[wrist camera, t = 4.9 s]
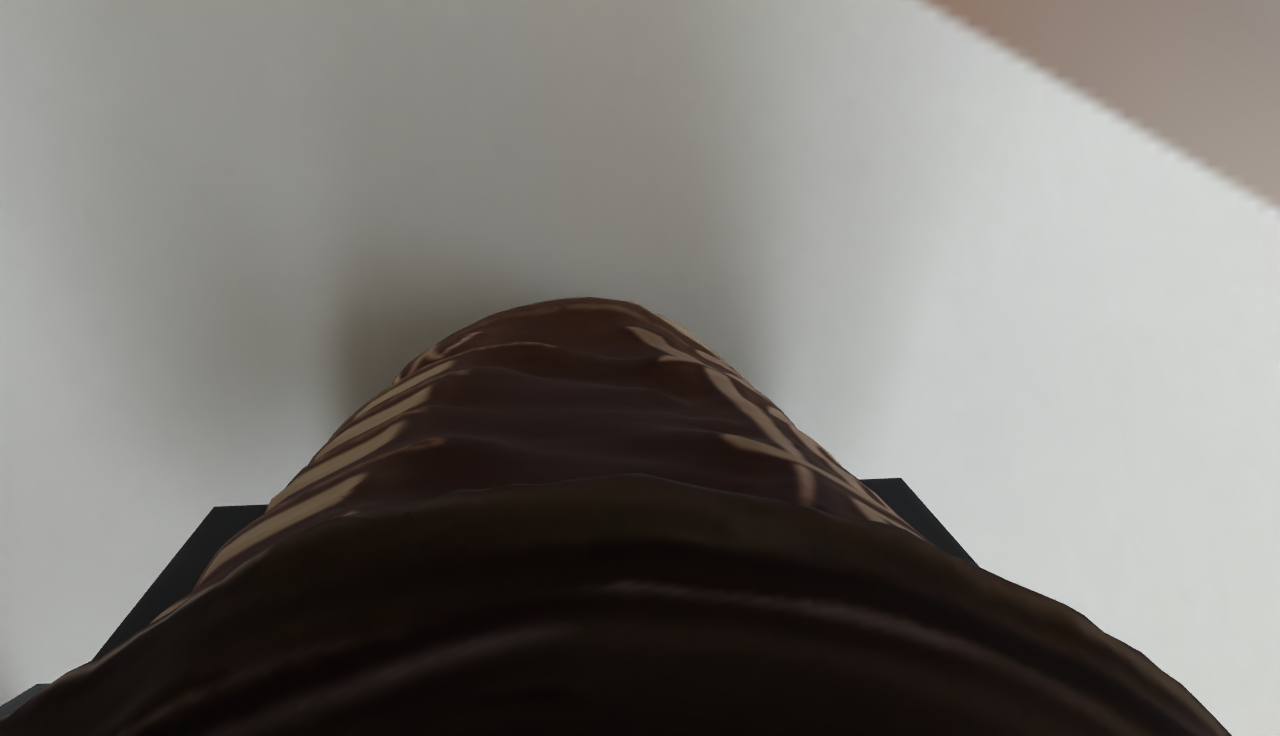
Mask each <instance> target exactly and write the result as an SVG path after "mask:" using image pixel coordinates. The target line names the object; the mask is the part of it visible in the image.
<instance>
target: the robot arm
mask: <svg viewBox="0 0 1280 736" xmlns="http://www.w3.org/2000/svg"><path fill="white" fill-rule="evenodd" d="M859 481H861V482H862V483H863V484H864V485H865V486H867V487H868V488H869V489H871V490H872V491H873V492H875V493H876V494H877V495H878V496H879V497H880V498H881V499H882V500H883V501H884V502H885V503H886V504H887V505H888V506H889V507H890V508H891V509H892V510H893V511H894V512H895V513H897V514H898V515H899V516H900V517H901V518H902V519H903V520H905V521H906V522H907V523H908V524H909V525H910V526H911V527H913V528H914V529H915V530H916V531H918V532H919V533H920V534H921V535H922V536H924V537H925V538H926V539H927V540H929V541H930V542H931V543H932V544H933V545H935V546H936V547H937V548H939V549H941V550H942V551H944V552H946V553H948V554H950V555H952V556H954V557H960V558H965V559H967V560H969V561H970V562H971V563H973V564H974V565H976V566H978V565H977V564H976V563H975V561H974V560H973V559H972V558H971V557H970V556H969V555H968V553H967V552H966V551H965V550H964V549H963V548H962V547H961V546H960V544H959V543H958V542H957V541H956V540H955V539H954V538H953V536H952V535H951V534H950V533H949V532H948V531H947V530H946V529H945V527H944V526H943V525H942V524H941V523H940V522H939V521H938V519H937V518H936V517H935V516H934V515H933V514H932V513H931V512H930V510H929V509H928V508H927V507H926V506H925V505H924V504H923V502H922V501H921V500H920V499H919V498H918V497H917V496H916V494H915V493H914V492H913V491H912V490H911V489H910V488H909V487H908V485H907V484H906V483H905V482H904V481H903V480H902V479H901V478H888V479H864V480H859ZM267 507H268V505H246V506H222V507H214V508H213V509H212V510H211V511H210V513H209V514H208V515H207V516H206V518H205V519H204V520H203V521H202V523H201V524H200V525H199V526H198V528H197V529H196V530H195V532H194V533H193V534H192V535H191V537H190V538H189V539H188V540H187V542H186V543H185V544H184V545H183V547H182V548H181V549H180V550H179V552H178V553H177V554H176V555H175V557H174V558H173V559H172V560H171V562H170V563H169V564H168V565H167V567H166V568H165V569H164V570H163V572H162V573H161V574H160V575H159V577H158V578H157V579H156V580H155V582H154V583H153V584H152V585H151V587H150V588H149V589H148V591H147V592H146V593H145V594H144V596H143V597H142V598H141V599H140V601H139V602H138V603H137V604H136V606H135V607H134V608H133V609H132V611H131V612H130V613H129V614H128V616H127V617H126V618H125V619H124V621H123V622H122V623H121V624H120V626H119V627H118V628H117V629H116V631H115V632H114V633H113V634H112V636H111V637H110V638H109V639H108V641H107V642H106V643H105V644H104V646H103V647H102V648H101V649H100V651H99V652H98V653H97V655H96V656H95V657H94V658H93V660H95V659H97V658H99V657H101V656H103V655H105V654H106V653H107V652H109V651H110V650H112V649H113V648H114V647H116V646H117V645H119V644H120V643H121V642H123V641H124V640H126V639H127V638H129V637H130V636H131V635H133V634H134V633H136V632H137V631H139V630H141V629H142V628H144V627H146V626H148V625H149V624H150V623H151V622H152V621H153V620H154V619H155V618H156V617H158V616H159V615H160V614H161V613H162V612H163V611H165V610H166V609H167V608H169V607H170V606H171V605H173V604H174V603H176V602H177V601H179V600H180V599H182V598H183V597H185V596H187V595H188V594H190V593H191V592H192V590H193V589H194V587H195V585H196V584H197V582H198V580H199V578H200V577H201V575H202V573H203V572H204V570H205V569H206V567H207V566H208V564H209V563H210V561H211V560H212V559H213V557H214V556H215V554H216V553H217V551H218V550H219V549H220V548H221V547H222V546H223V545H224V544H225V543H226V542H227V541H228V540H229V539H231V538H232V537H233V536H234V535H236V534H237V533H238V532H240V531H241V530H242V529H244V528H245V527H246V526H247V525H249V524H250V523H251V522H253V521H254V520H256V519H257V518H259V517H260V516H262V515H263V514H264V513H265V511H266V509H267ZM978 567H979V566H978ZM48 685H50V684H36V685H35V686H33V687H32V688H30V689H28V690H27V691H25V692H23V693H22V694H20V695H18V696H17V697H15V698H14V699H12V700H10V701H9V702H7V703H5V704H4V705H2V706H1V707H0V718H1V717H3V716H5V715H7V714H8V713H10V712H12V711H14V710H15V709H17V708H18V707H19V706H21V705H22V704H23V703H25V702H26V701H27V700H29V699H30V698H31V697H33V696H34V695H36V694H37V693H39V692H40V691H41V690H43V689H44V688H46V687H47V686H48Z"/></svg>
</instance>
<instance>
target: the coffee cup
mask: <svg viewBox="0 0 1280 736" xmlns="http://www.w3.org/2000/svg"><path fill="white" fill-rule="evenodd" d="M0 736H1232V735H1231V734H1230V733H1229V732H1228V731H1227V730H1226V729H1225V728H1224V727H1223V726H1222V725H1221V724H1220V723H1219V722H1218V720H1217V719H1216V718H1215V717H1214V716H1213V715H1212V714H1211V713H1210V712H1209V711H1208V710H1207V709H1206V708H1205V707H1204V706H1203V705H1202V704H1201V703H1200V702H1199V701H1198V700H1197V699H1196V698H1195V697H1194V696H1193V695H1192V694H1191V693H1190V692H1189V691H1188V690H1187V689H1186V688H1185V687H1184V686H1183V685H1182V684H1180V683H1179V682H1178V681H1176V680H1175V679H1173V678H1172V677H1170V676H1169V675H1168V674H1166V673H1165V672H1163V671H1162V670H1161V669H1159V668H1158V667H1157V666H1156V665H1155V664H1154V663H1153V662H1152V661H1150V660H1149V659H1148V658H1147V657H1146V656H1145V655H1144V654H1143V653H1141V652H1140V651H1138V650H1136V649H1134V648H1132V647H1131V646H1129V645H1127V644H1125V643H1124V642H1122V641H1120V640H1118V639H1116V638H1114V637H1112V636H1110V635H1108V634H1106V633H1104V632H1103V631H1102V630H1100V629H1099V628H1098V627H1097V626H1096V625H1095V624H1093V623H1092V622H1091V621H1090V620H1089V619H1088V618H1087V617H1085V616H1084V615H1083V614H1081V613H1079V612H1077V611H1076V610H1074V609H1072V608H1070V607H1069V606H1067V605H1065V604H1063V603H1060V602H1058V601H1056V600H1053V599H1051V598H1049V597H1046V596H1044V595H1042V594H1039V593H1037V592H1034V591H1032V590H1029V589H1027V588H1025V587H1022V586H1020V585H1017V584H1015V583H1012V582H1010V581H1008V580H1005V579H1003V578H1001V577H999V576H997V575H995V574H993V573H991V572H988V571H986V570H984V569H982V568H980V567H978V566H976V565H974V564H973V563H971V562H970V561H969V560H967V559H965V558H960V557H954V556H952V555H950V554H948V553H946V552H944V551H942V550H941V549H939V548H937V547H936V546H935V545H933V544H932V543H931V542H930V541H929V540H927V539H926V538H925V537H924V536H922V535H921V534H920V533H919V532H918V531H916V530H915V529H914V528H913V527H911V526H910V525H909V524H908V523H907V522H906V521H905V520H903V519H902V518H901V517H900V516H899V515H898V514H897V513H895V512H894V511H893V510H892V509H891V508H890V507H889V506H888V505H887V504H886V503H885V502H884V501H883V500H882V499H881V498H880V497H879V496H878V495H877V494H876V493H875V492H873V491H872V490H871V489H869V488H868V487H867V486H865V485H864V484H863V483H862V482H861V481H859V480H858V479H857V478H856V477H855V476H853V475H852V474H851V473H849V472H848V471H846V470H845V469H844V468H842V466H841V465H840V464H839V463H838V462H837V461H836V460H835V459H834V458H833V457H832V456H831V455H830V454H829V453H828V452H827V451H826V450H825V449H824V448H823V447H821V446H820V445H819V444H818V443H816V442H815V441H814V440H813V439H812V438H810V437H809V436H807V435H806V434H804V433H803V432H801V431H800V430H798V429H797V428H796V427H795V425H794V424H793V423H792V422H791V421H790V419H789V418H788V417H787V416H786V415H785V414H784V413H783V412H782V411H781V410H780V409H779V408H778V407H777V406H776V405H775V404H774V403H773V402H771V401H770V400H769V399H768V398H767V397H765V396H764V395H763V394H761V393H760V392H759V391H757V390H756V389H755V388H754V387H753V386H752V385H751V384H750V383H749V382H748V381H746V380H745V379H744V378H743V377H742V376H741V375H740V374H739V373H738V372H737V371H735V370H734V369H733V368H732V367H731V366H729V365H727V364H726V363H725V362H724V361H723V360H722V359H721V358H720V357H719V356H718V355H717V354H716V353H715V352H713V351H712V350H711V349H710V348H708V347H707V346H706V345H704V344H703V343H702V342H700V341H699V340H698V339H696V338H695V337H694V336H693V335H691V333H690V332H689V331H688V330H687V329H685V328H684V327H682V326H680V325H679V324H677V323H676V322H674V321H672V320H670V319H668V318H666V317H664V316H662V315H658V314H653V313H651V312H650V311H648V310H647V309H645V308H644V307H642V306H641V305H638V304H636V303H634V302H632V301H620V300H613V299H605V298H593V297H577V298H564V299H556V300H550V301H544V302H539V303H534V304H530V305H525V306H521V307H517V308H513V309H510V310H506V311H502V312H499V313H496V314H493V315H490V316H488V317H486V318H484V319H482V320H480V321H478V322H476V323H474V324H472V325H470V326H468V327H466V328H464V329H462V330H459V331H457V332H455V333H453V334H452V335H450V336H449V337H447V338H445V339H444V340H442V341H441V342H439V343H438V344H436V345H435V346H433V347H431V348H429V349H427V350H426V351H425V352H423V353H422V354H420V355H419V356H418V357H416V358H415V359H414V360H412V361H411V362H410V363H408V365H407V366H406V367H405V368H404V369H403V370H402V371H401V372H400V373H399V375H398V376H397V377H396V378H395V380H394V381H393V383H392V385H391V386H390V387H389V388H387V389H386V390H384V391H383V392H381V393H380V394H378V395H377V396H376V397H374V398H373V399H371V400H370V401H368V402H367V403H366V404H365V405H363V406H362V407H361V408H360V409H359V410H358V411H356V412H355V413H354V414H353V415H352V416H351V417H350V418H348V419H347V420H346V421H345V422H344V424H343V425H342V426H341V427H340V428H339V429H338V430H337V431H336V432H335V433H334V434H333V435H332V437H331V438H330V439H329V441H328V442H327V443H326V444H325V445H324V446H323V447H322V448H321V449H320V450H319V451H318V452H317V453H316V455H315V456H314V457H313V458H312V460H311V461H310V463H309V464H308V466H306V467H304V468H303V469H302V470H301V471H300V472H299V473H298V474H297V475H296V476H295V477H294V478H293V479H292V481H291V482H290V483H289V484H288V485H287V487H286V488H285V489H284V490H283V491H281V492H280V493H279V494H278V495H276V496H275V497H274V498H273V499H272V500H271V501H270V503H269V505H268V507H267V509H266V511H265V513H264V514H263V515H262V516H260V517H259V518H257V519H256V520H254V521H253V522H251V523H250V524H249V525H247V526H246V527H245V528H244V529H242V530H241V531H240V532H238V533H237V534H236V535H234V536H233V537H232V538H231V539H229V540H228V541H227V542H226V543H225V544H224V545H223V546H222V547H221V548H220V549H219V550H218V551H217V553H216V554H215V556H214V557H213V559H212V560H211V561H210V563H209V564H208V566H207V567H206V569H205V570H204V572H203V573H202V575H201V577H200V578H199V580H198V582H197V584H196V585H195V587H194V589H193V590H192V592H191V593H190V594H188V595H187V596H185V597H183V598H182V599H180V600H179V601H177V602H176V603H174V604H173V605H171V606H170V607H169V608H167V609H166V610H165V611H163V612H162V613H161V614H160V615H159V616H158V617H156V618H155V619H154V620H153V621H152V622H151V623H150V624H149V625H148V626H146V627H144V628H142V629H141V630H139V631H137V632H136V633H134V634H133V635H131V636H130V637H129V638H127V639H126V640H124V641H123V642H121V643H120V644H119V645H117V646H116V647H114V648H113V649H112V650H110V651H109V652H107V653H106V654H105V655H103V656H101V657H99V658H97V659H95V660H92V661H90V662H88V663H86V664H84V665H82V666H80V667H78V668H76V669H73V670H71V671H69V672H67V673H66V674H64V675H63V676H61V677H60V678H58V679H57V680H56V681H54V682H53V683H51V684H50V685H48V686H47V687H46V688H44V689H43V690H41V691H40V692H39V693H37V694H36V695H34V696H33V697H31V698H30V699H29V700H27V701H26V702H25V703H23V704H22V705H21V706H19V707H18V708H17V709H15V710H14V711H12V712H10V713H8V714H7V715H5V716H3V717H1V718H0Z"/></svg>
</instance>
